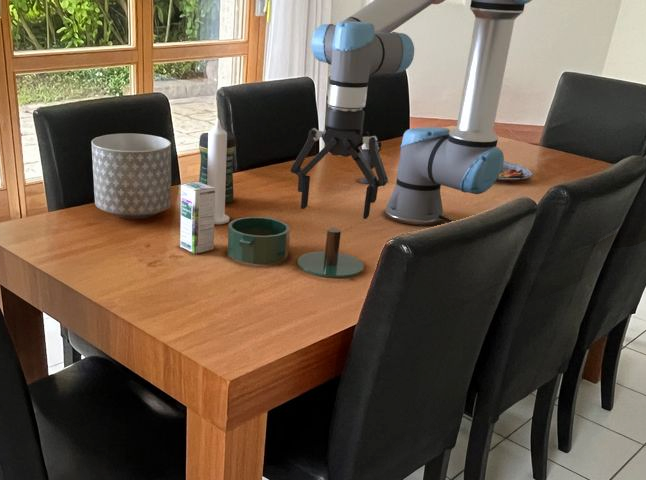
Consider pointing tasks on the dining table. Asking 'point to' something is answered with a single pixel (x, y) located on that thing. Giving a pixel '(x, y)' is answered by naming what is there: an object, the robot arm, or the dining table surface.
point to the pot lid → (331, 260)
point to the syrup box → (197, 217)
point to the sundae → (368, 158)
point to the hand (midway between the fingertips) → (334, 212)
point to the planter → (132, 174)
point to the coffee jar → (229, 163)
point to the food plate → (514, 172)
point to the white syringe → (218, 169)
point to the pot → (258, 240)
